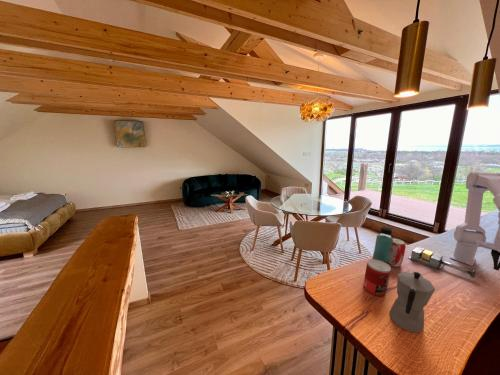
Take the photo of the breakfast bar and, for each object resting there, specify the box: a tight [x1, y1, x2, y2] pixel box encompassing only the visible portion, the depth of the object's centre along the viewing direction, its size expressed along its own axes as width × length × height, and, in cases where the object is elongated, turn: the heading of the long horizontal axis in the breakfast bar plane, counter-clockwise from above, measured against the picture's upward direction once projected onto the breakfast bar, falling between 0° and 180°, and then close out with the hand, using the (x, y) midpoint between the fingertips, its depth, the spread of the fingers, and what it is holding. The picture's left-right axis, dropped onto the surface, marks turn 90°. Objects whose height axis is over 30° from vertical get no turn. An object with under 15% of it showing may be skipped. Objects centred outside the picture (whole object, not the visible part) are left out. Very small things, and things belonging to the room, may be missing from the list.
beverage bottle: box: [372, 226, 393, 264], centre depth 94 cm, size 6×7×20 cm
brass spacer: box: [421, 249, 434, 262], centre depth 103 cm, size 3×5×5 cm, turn 127°
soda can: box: [388, 237, 406, 268], centre depth 99 cm, size 7×7×12 cm
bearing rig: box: [408, 245, 444, 271], centre depth 103 cm, size 12×8×5 cm, turn 37°
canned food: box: [363, 259, 392, 297], centre depth 82 cm, size 8×8×11 cm
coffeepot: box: [389, 271, 436, 334], centre depth 66 cm, size 15×9×18 cm, turn 137°
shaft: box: [439, 259, 477, 278], centre depth 95 cm, size 14×3×3 cm, turn 37°
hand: (496, 269), depth 85 cm, fingers closed
